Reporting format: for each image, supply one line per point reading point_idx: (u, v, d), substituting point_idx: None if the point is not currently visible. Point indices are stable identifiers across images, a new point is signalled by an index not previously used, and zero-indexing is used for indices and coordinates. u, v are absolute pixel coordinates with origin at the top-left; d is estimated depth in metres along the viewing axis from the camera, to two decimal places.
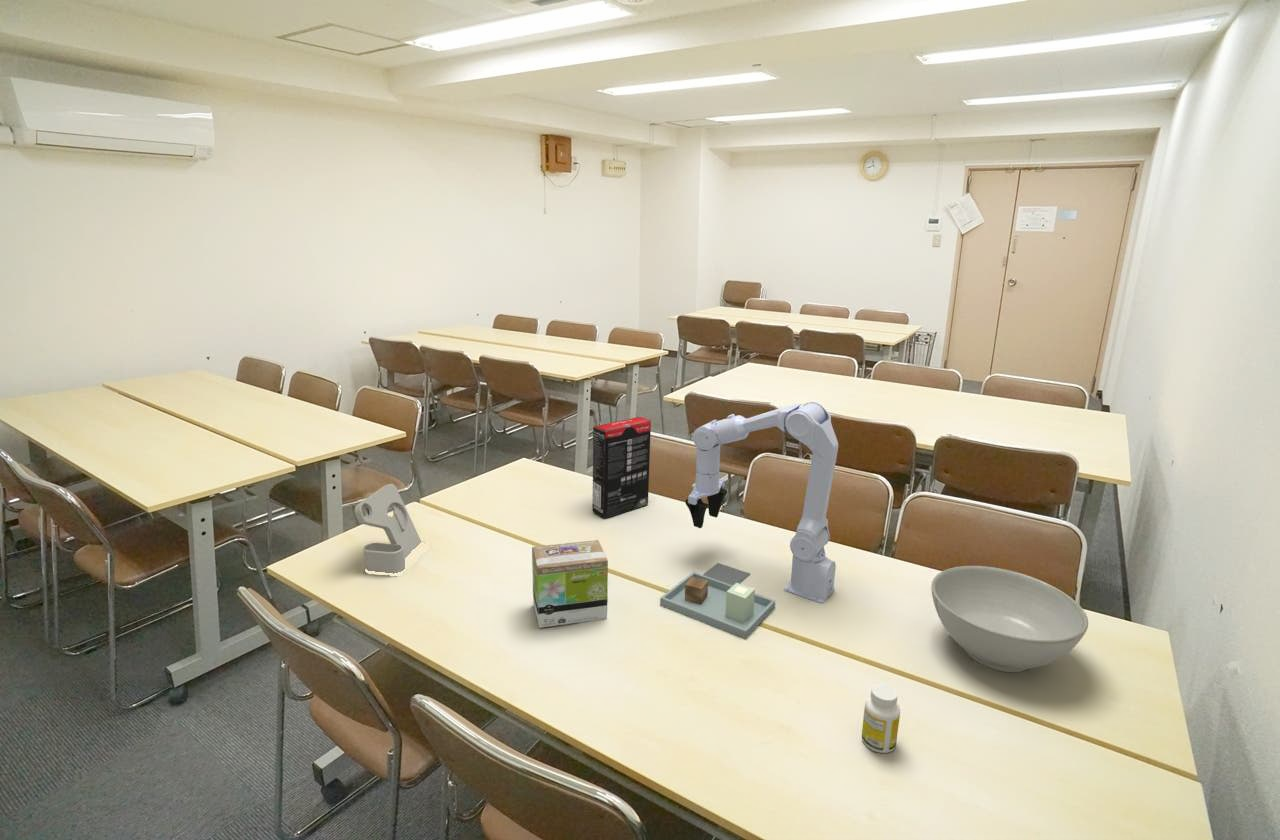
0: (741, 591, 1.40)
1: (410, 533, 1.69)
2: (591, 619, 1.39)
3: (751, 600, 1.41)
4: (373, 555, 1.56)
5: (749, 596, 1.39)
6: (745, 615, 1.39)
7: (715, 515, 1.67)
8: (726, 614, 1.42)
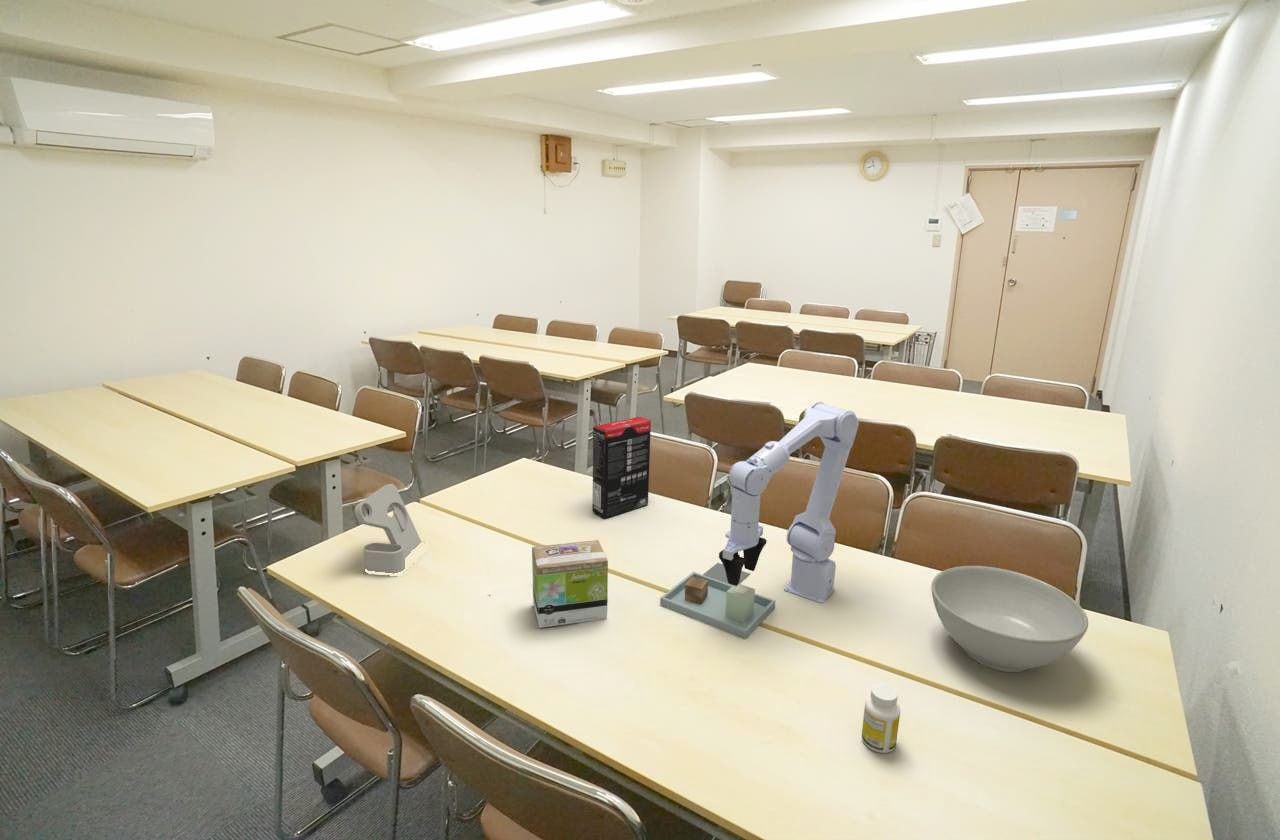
0: (741, 591, 1.40)
1: (410, 533, 1.69)
2: (591, 619, 1.39)
3: (751, 600, 1.41)
4: (373, 555, 1.56)
5: (749, 596, 1.39)
6: (745, 615, 1.39)
7: (752, 568, 1.42)
8: (726, 614, 1.42)
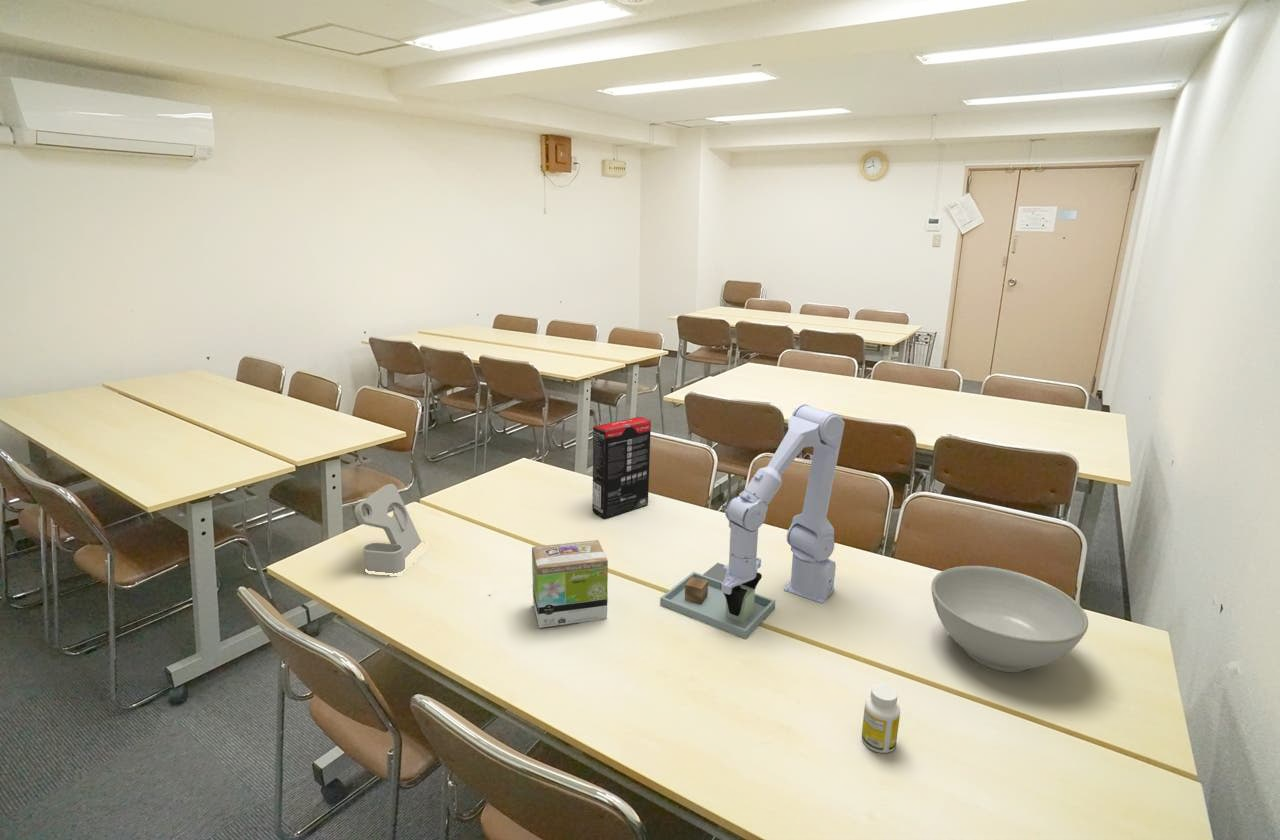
0: None
1: (410, 533, 1.69)
2: (591, 619, 1.39)
3: (751, 600, 1.41)
4: (373, 555, 1.56)
5: (749, 596, 1.39)
6: (745, 615, 1.39)
7: None
8: (726, 614, 1.42)
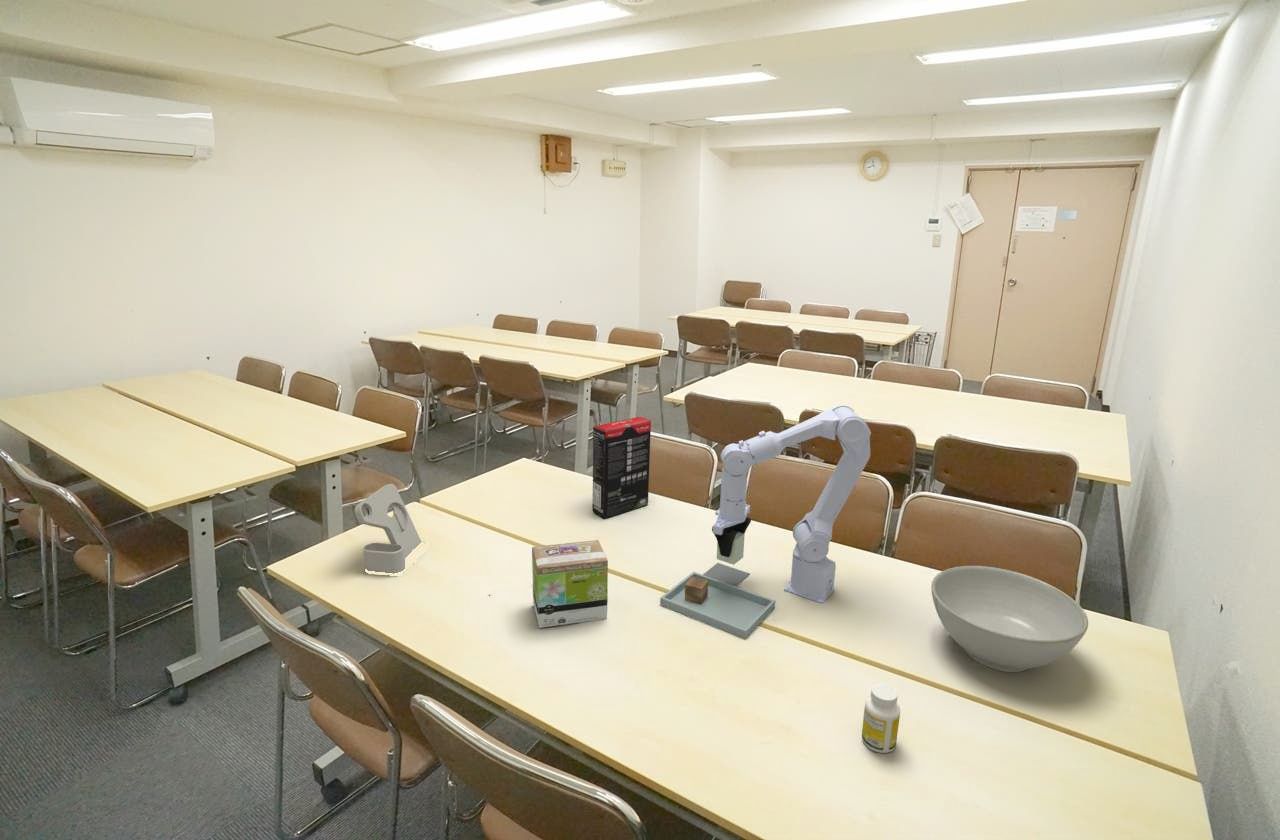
0: None
1: (410, 533, 1.69)
2: (591, 619, 1.39)
3: (741, 544, 1.50)
4: (373, 555, 1.56)
5: (739, 539, 1.48)
6: (735, 557, 1.48)
7: None
8: (717, 557, 1.50)
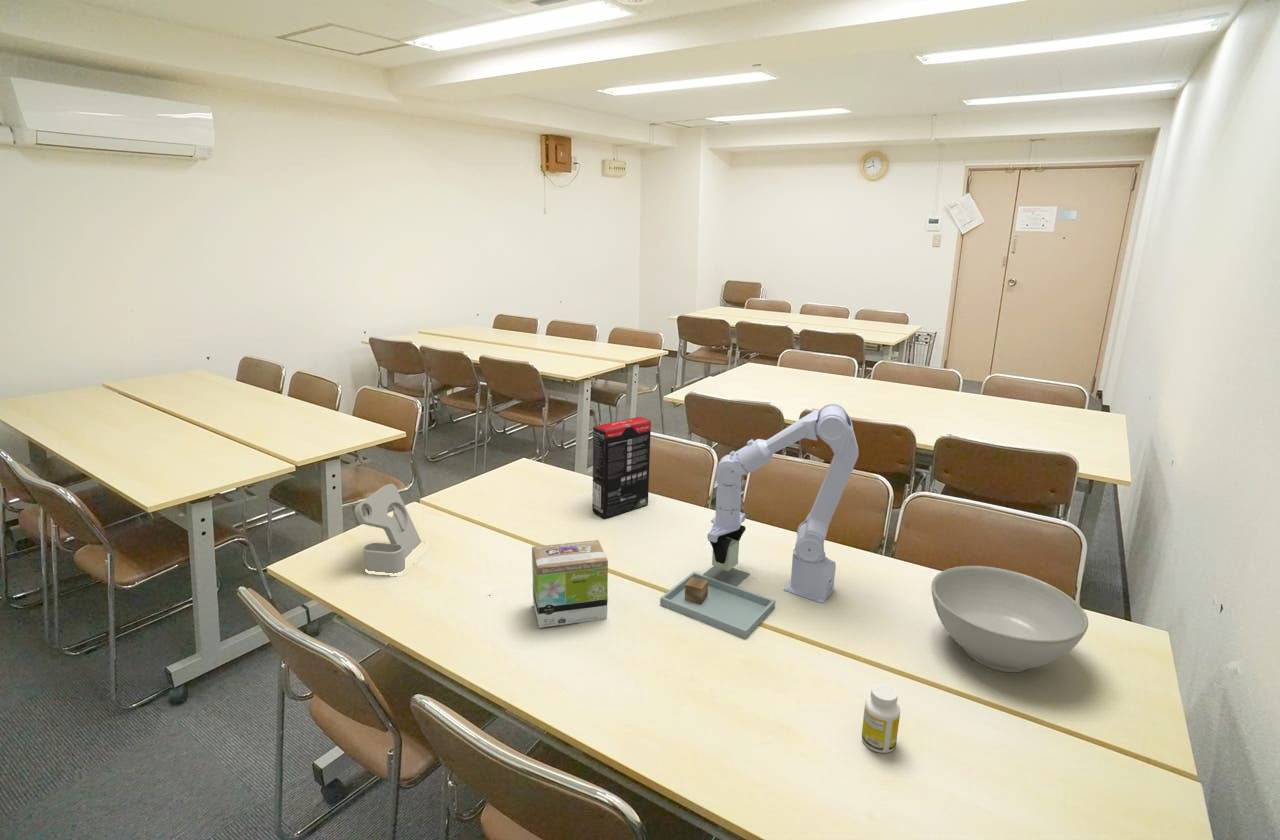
0: None
1: (410, 533, 1.69)
2: (591, 619, 1.39)
3: (736, 551, 1.55)
4: (373, 555, 1.56)
5: (733, 547, 1.54)
6: (729, 563, 1.54)
7: None
8: (713, 563, 1.56)
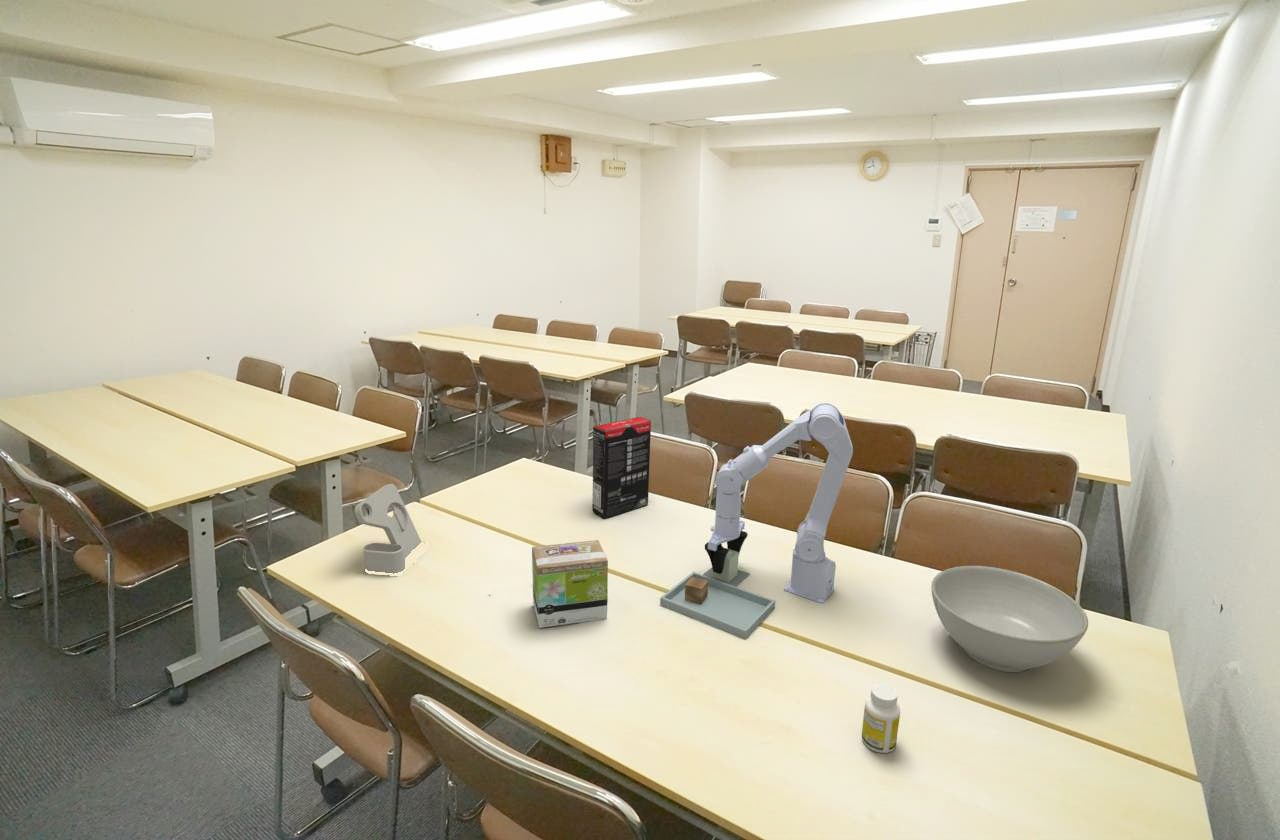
0: None
1: (410, 533, 1.69)
2: (591, 619, 1.39)
3: (735, 562, 1.56)
4: (373, 555, 1.56)
5: (733, 558, 1.55)
6: (729, 575, 1.55)
7: None
8: (713, 575, 1.57)
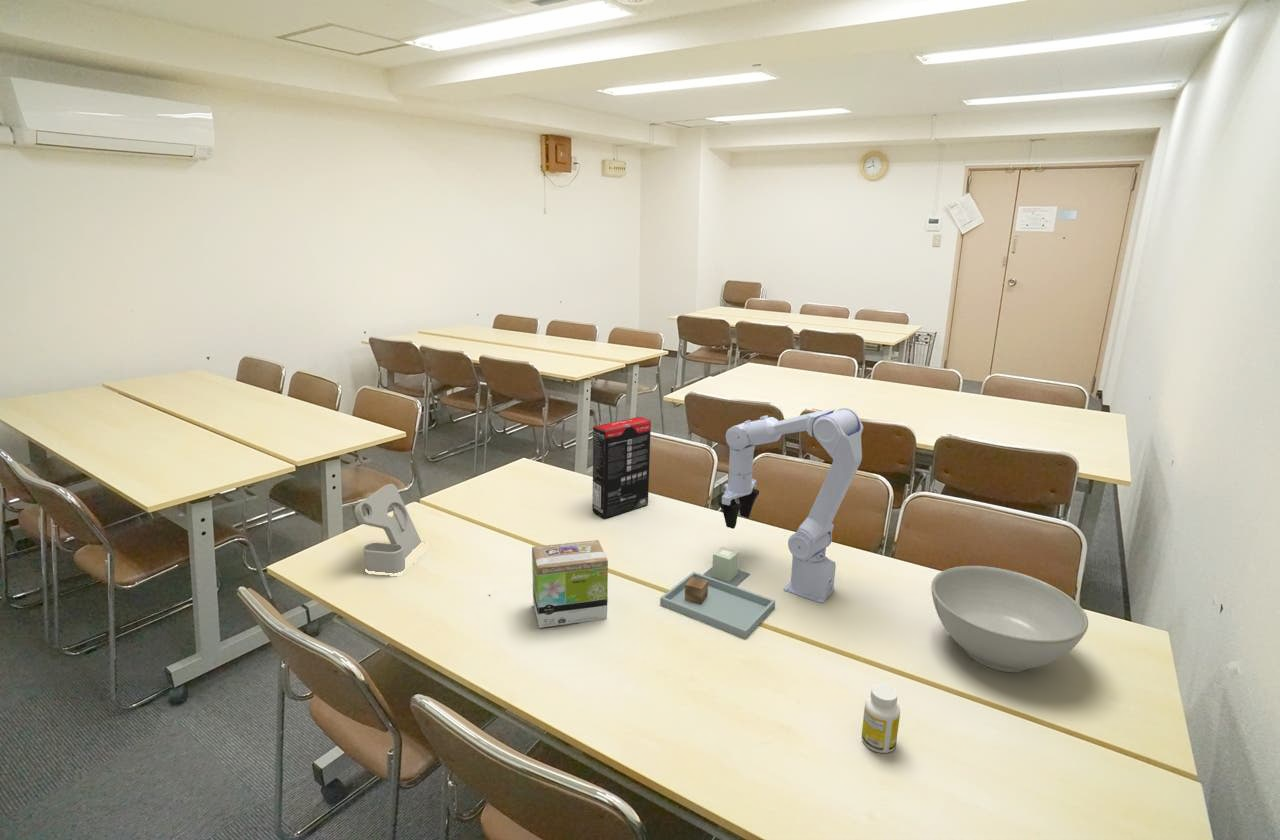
0: (726, 554, 1.55)
1: (410, 533, 1.69)
2: (591, 619, 1.39)
3: (735, 562, 1.56)
4: (373, 555, 1.56)
5: (733, 558, 1.55)
6: (729, 575, 1.55)
7: (747, 515, 1.66)
8: (713, 575, 1.57)
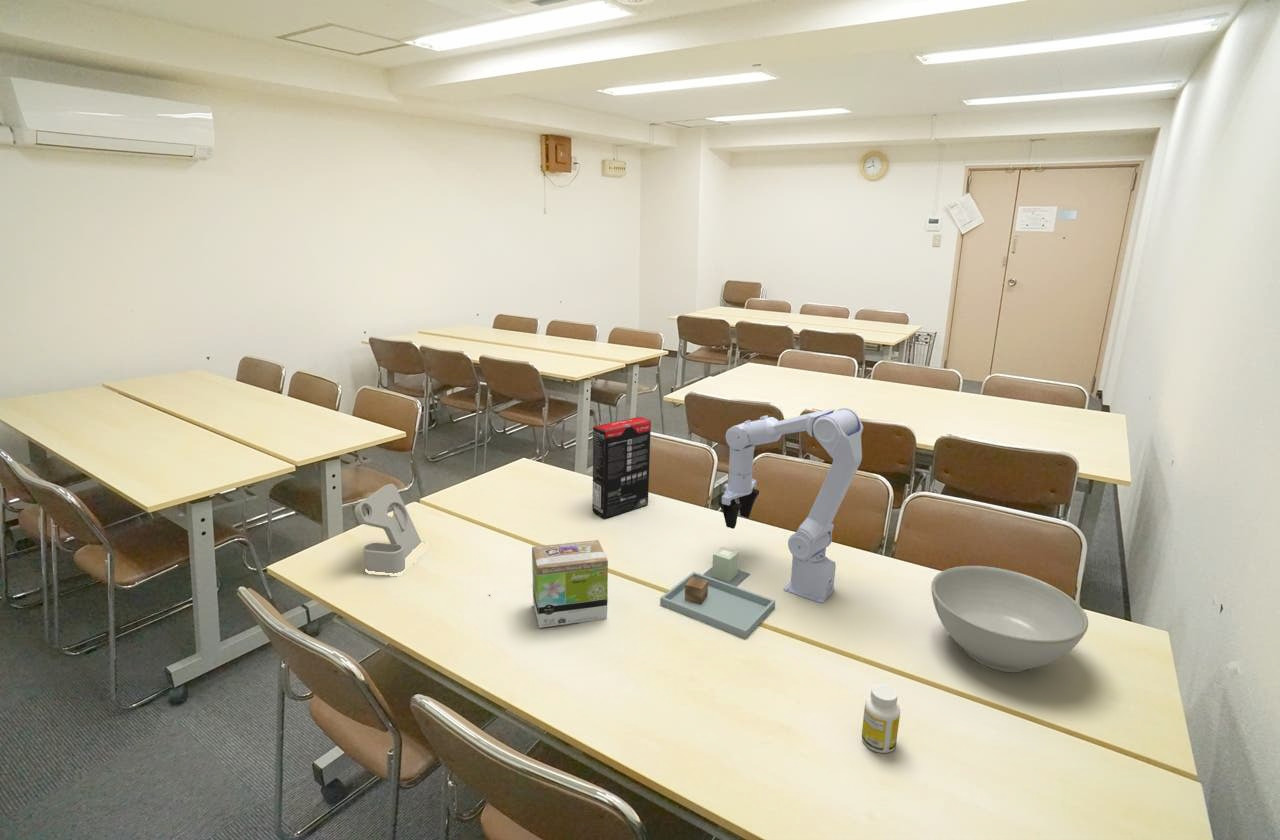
0: (726, 554, 1.55)
1: (410, 533, 1.69)
2: (591, 619, 1.39)
3: (735, 562, 1.56)
4: (373, 555, 1.56)
5: (733, 558, 1.55)
6: (729, 575, 1.55)
7: (747, 515, 1.66)
8: (713, 575, 1.57)
